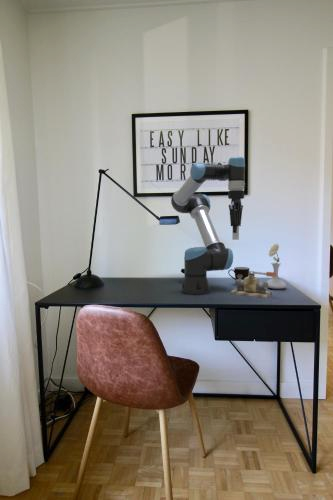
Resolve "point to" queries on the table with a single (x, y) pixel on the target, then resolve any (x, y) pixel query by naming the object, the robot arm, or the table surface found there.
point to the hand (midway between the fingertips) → (235, 239)
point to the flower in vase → (275, 270)
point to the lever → (264, 273)
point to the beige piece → (251, 287)
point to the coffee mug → (240, 272)
